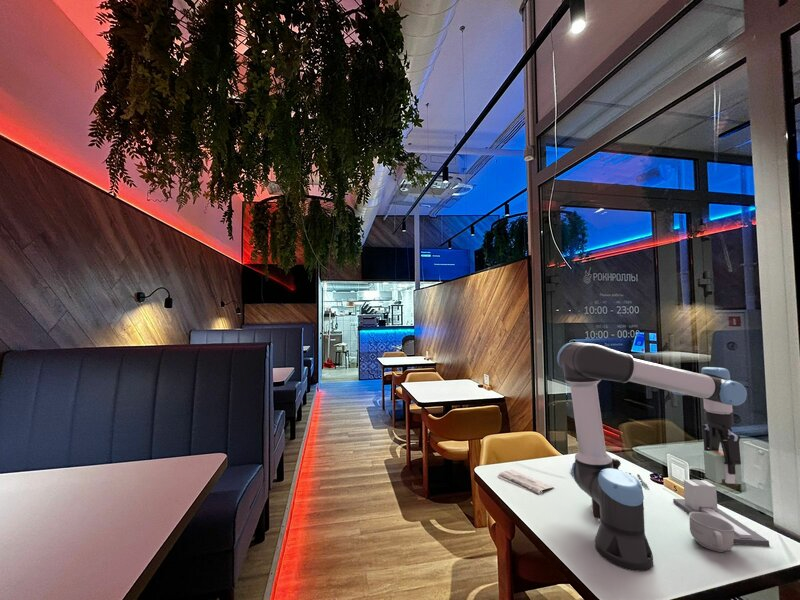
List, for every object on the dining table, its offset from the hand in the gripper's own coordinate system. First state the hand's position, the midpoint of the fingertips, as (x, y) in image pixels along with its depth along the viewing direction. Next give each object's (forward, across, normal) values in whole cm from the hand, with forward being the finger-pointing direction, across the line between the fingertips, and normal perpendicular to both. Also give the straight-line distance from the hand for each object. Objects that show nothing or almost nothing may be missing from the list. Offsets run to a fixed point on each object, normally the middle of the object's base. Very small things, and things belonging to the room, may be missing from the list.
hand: (723, 479), depth 120 cm
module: (0, 0, 0) cm, 0 cm away
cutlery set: (+18, +38, +21) cm, 47 cm away
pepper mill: (+17, +9, +35) cm, 40 cm away
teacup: (+17, -11, +13) cm, 24 cm away
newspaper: (+18, +30, +60) cm, 70 cm away
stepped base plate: (+17, +5, 0) cm, 18 cm away
